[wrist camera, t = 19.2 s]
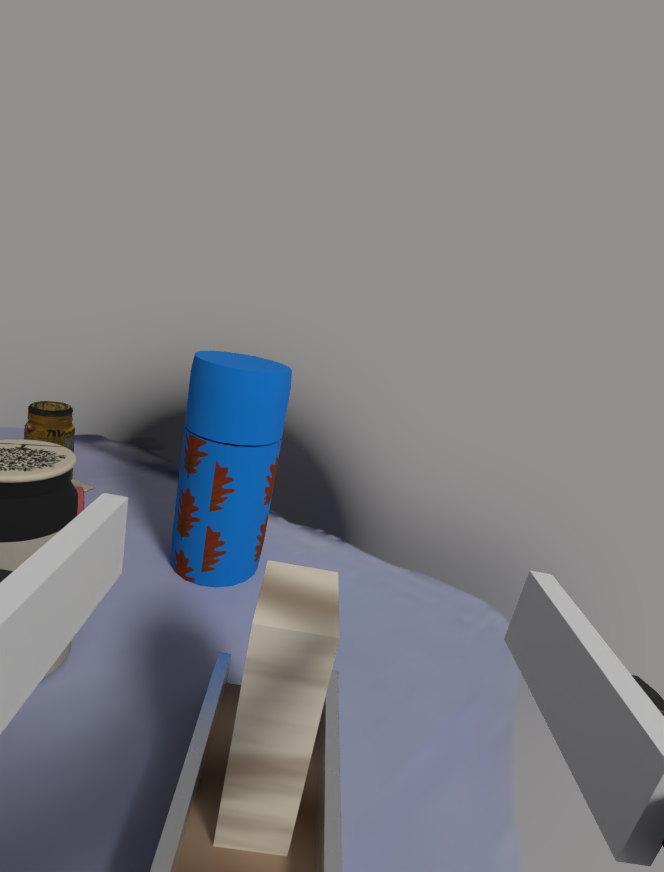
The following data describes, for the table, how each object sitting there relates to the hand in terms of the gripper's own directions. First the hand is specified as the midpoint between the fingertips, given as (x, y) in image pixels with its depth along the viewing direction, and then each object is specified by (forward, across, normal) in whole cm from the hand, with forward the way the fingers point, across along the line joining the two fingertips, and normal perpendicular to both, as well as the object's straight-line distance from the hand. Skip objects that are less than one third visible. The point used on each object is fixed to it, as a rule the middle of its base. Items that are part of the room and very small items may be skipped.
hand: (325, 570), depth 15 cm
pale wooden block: (+10, 0, -24) cm, 26 cm away
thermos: (+38, -9, -26) cm, 46 cm away
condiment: (+49, -36, -26) cm, 66 cm away
